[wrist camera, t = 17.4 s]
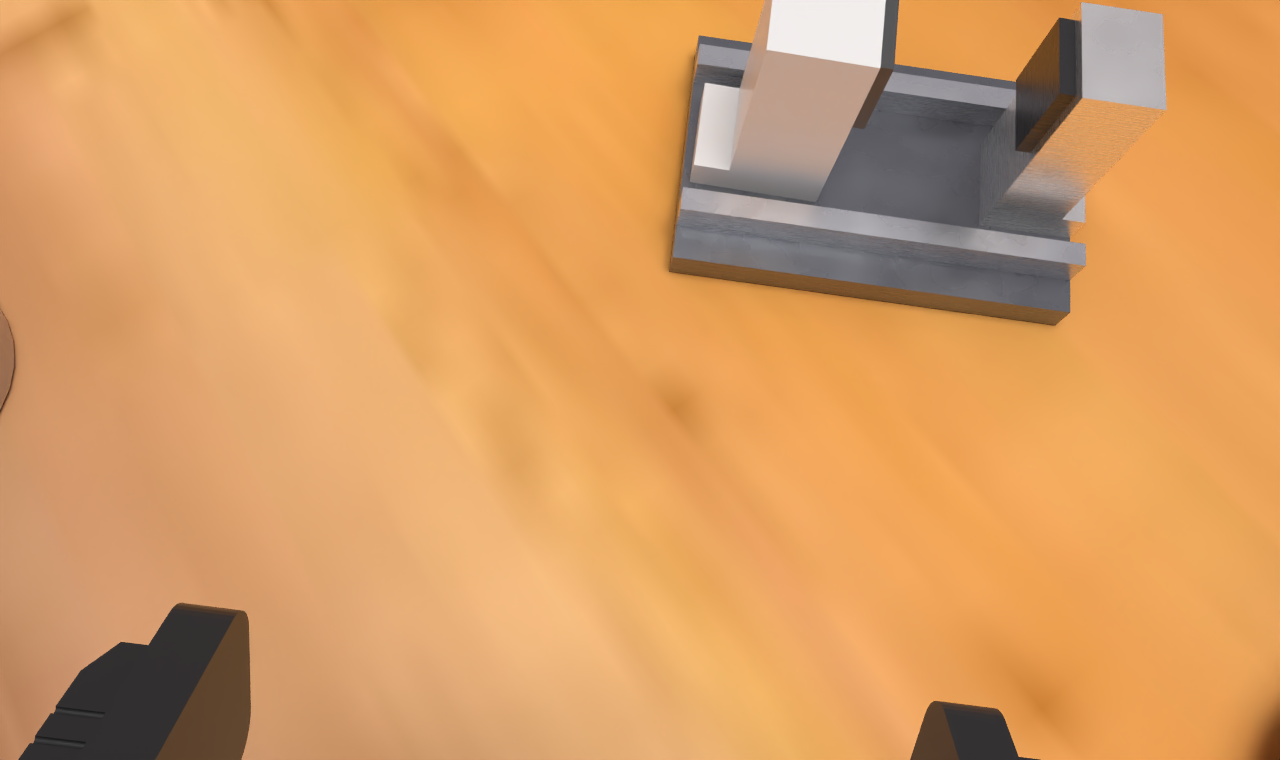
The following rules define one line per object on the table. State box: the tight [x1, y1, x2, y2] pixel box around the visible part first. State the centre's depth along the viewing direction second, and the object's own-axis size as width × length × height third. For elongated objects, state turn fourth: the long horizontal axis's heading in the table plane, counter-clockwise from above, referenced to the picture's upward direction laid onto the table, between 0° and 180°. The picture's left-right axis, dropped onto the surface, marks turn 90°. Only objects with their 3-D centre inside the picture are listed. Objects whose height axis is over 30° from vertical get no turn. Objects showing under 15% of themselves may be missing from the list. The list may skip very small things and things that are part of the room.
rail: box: [669, 2, 1166, 325], centre depth 45 cm, size 17×11×12 cm, turn 83°
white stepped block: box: [690, 0, 899, 202], centre depth 44 cm, size 6×4×10 cm, turn 82°
